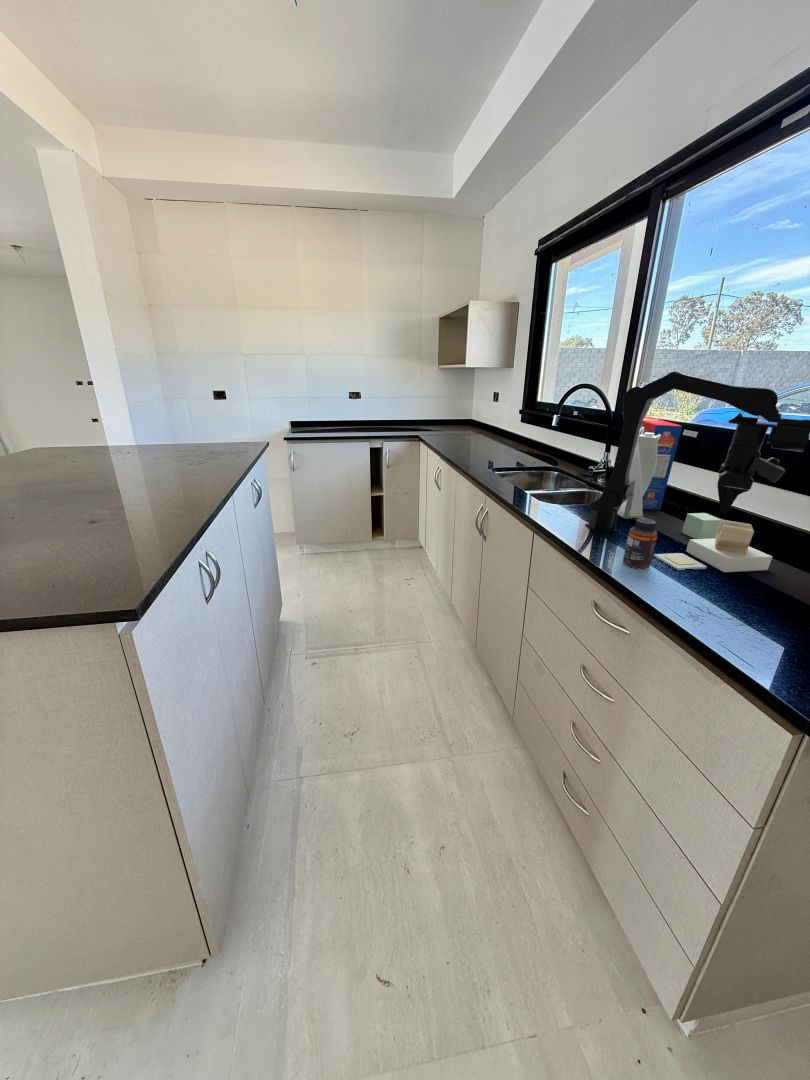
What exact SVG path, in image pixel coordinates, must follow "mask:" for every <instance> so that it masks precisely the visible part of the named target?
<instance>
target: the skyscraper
mask: <svg viewBox="0 0 810 1080" xmlns="http://www.w3.org/2000/svg"><path fill="white" fill-rule="evenodd" d="M642 428H643V429H642ZM642 428H641V429H640V431H639V435H638V441H637V444H636V447H635V451H634V455H633V459H632V463H631V468H630V472H629V481H634V482H635V483H634V485H633V488H632V495H631V496H630V497H629V498H628V499H627V500H626V501H625V502H624V503H622V504H621V505H620V506H619V509H618V511H617V515H618V516H619V517H622V518H623V519H624V520H626V519H627V520H629V519H631V520H633V519H632V518H646V517H644V515H643V510H644V509H643V507H642V497H643V495H644V493H645V492H646V490H647V488H648V486H649V484H650V481H651V479H652V476H653V473H654V470H655V466H656V461H657V449H658V440H659V439H660V437H661V434H659V435H657V436H654V433H644V435H643V431H644V426H643V427H642ZM641 430H642V432H641ZM640 432H641V435H640Z"/></svg>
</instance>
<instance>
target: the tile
mask: <svg viewBox="0 0 810 1080" xmlns="http://www.w3.org/2000/svg"><path fill="white" fill-rule="evenodd" d="M655 557H656V558H655ZM653 558H655V559H657V560H659V561H660V560H661V561H660V562H662V561H663V562H662V563H664V564H665V563H666V565H667V564H668V566H669V565H670V566H671V568H672V567H673V568H672V569H674V568H675V569H677V570H676V571H686V570H685V569H693V570H706V569H707V568H708V565H705V564H704V563H702V562H699V561H697V560H696V559H694V558H692V557H690V556H688V555H687V554H684V553H682V552H681V553H680V552H679V553H678V552H674V553H655V554H654V553H653ZM670 566H669V567H670ZM675 569H674V570H675Z"/></svg>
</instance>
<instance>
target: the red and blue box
mask: <svg viewBox="0 0 810 1080" xmlns="http://www.w3.org/2000/svg"><path fill="white" fill-rule="evenodd" d="M643 426H644V431H643V435H644V433H654V436H657V435H659V434H661V437H660V439H659V440H658V449H657V461H656V466H655V470H654V473H653V476H652V479H651V481H650V484H649V486H648V488H647V490H646V492H645V493H644V495H643V497H642V507H643V510H652V509H653V510H654V511H655V510H656V511H660V510H661V508H662V504H663V500H664V496H665V493H666V490H667V485H668V482H669V478H670V474H671V471H672V467H673V463H674V459H675V455H676V452H677V448H678V445H679V441H680V437H681V434H682V431H683V430H682V429H683V425H680V424H677V423H673V422H669V421H665V420H662V419H659V418H655V417H651V416H645V417H644V419H643V421H642V423H641V427H640V429H641V428H642V427H643ZM642 429H643V428H642ZM641 432H642V430H641ZM641 432H640V435H641ZM637 441H638V439H637ZM636 444H637V443H636ZM653 510H652V511H653Z"/></svg>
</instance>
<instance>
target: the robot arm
mask: <svg viewBox="0 0 810 1080" xmlns="http://www.w3.org/2000/svg"><path fill="white" fill-rule="evenodd" d="M672 390H677V391H680V392H684V393H688V394H693V395H696V396H699V397H705V398H708V399H711V400H717V401H720V402H724V403H726V404H727V405H730V406H732V407H733V408H736V409H738V410H740V411H743V412H744V413H747V414H749V415H752V416H744V415H743V414H742V412H739V413H738V414H737V415H735V416H734V417H732V418H731V419H728V423H729V424H735V425H737V426H736V427H735V431H734V433H733V437H732V440H731V443H730V446H729V448H728V451H727V455H726V458H725V461H724V462H723V463H722V464H721V466H720V469H719V471H718V473H719V474H718V480H717V485H716V486H717V493H718V501H719V509H720V511H719V512H720V513H721V514H727V512H728V511H729V509H730V508H731V507H732V505H733V504H734V502H735V500H736V499H737V498H738V496H739V495H741V494H743V493H747V492H748V491H750V490H751V489H752V486H753V484H754V478H753V477H752V476H754V475H755V474H756V475H759V476H761V477H763V478H765V479H767V480H768V481H769V482H771V483H774V484H775V483H776V482H777V481H778V480H779V479H780V478H781V477H782V476H783V475H784V474H785V473H786V469H785V468H784V467H783V466H780V462H781V461H780V460H779V459H778V458H776V457H774V456H773V457H770V458H768V459H766V458H763V457H761V455H762V453H761V448H762V445H763V443H764V441H765V440H764V439H765V437H766V435H767V431H768V430H769V428H771V430H770V432H769V435H768V438H767V440H766V444H769V445H771V447H770V448H771V449H773V450H774V449H776V450H781V451H782V450H783V451H792V452H800V453H803V452H804V451H805V449H806V447H807V444H808V442H809V440H810V419H807V418H806V419H796V418H795V419H794V418H784V417H782V412H779V409H778V407H777V404H778V402H779V397H778V393H777V392H776V391H775V390H773V389H771V388H767V387H755V386H739V385H730V384H728V383H722V382H718V381H714V380H710V379H706V378H701V377H698V376H693V375H689V374H685V373H683V372H682V371H681V372H680V371H671V372H669V373H667V374H666V375H664V376H662V377H660V378H658V379H656V380H654V381H651V382H650V383H647V384H645V385H643V386H642V385H641V386H634V387H631V388H630V389H628V390H627V391H626V392H625V393H624V395H623V397H622V419H623V425H622V429H621V433H620V438H619V442H618V446H617V452H616V455H615V460H614V464H613V469H612V472H611V475H610V477H609V479H608V480H607V483H606V484H605V487H604V489H603V491H602V493H601V496H600V497H598V498H597V499H595V500H594V501H592V502H591V503H590V506H591V511H590V515H589V517H590V518H589V520H588V523H587V522H586V523H585V526H586V527H587V528H589V529H590V530H592V531H593V532H596V533H617V531H618V530H617V529H616V526H617V525H616V524H617V519H618V516H619V515H618V514H617V511H619V509H617V508H618V507H621V505H622V503H624V502H625V501H626V500H627V499H628V498H629V497H630V496H631V495H632V488H633V485H634V483H635V482H634V481H629V472H630V468H631V463H632V459H633V455H634V451H635V447H636V443H637V439H638V435H639V431H640V427H641V423H642V421H643V419H644V417H647V416H646V415H647V414H648V411H649V410H650V408H651V406H652V403H653V400H656V399H657V398H659V397H661V396H664V395H665V394H667V393H670V392H671V391H672ZM753 416H755V417H753ZM756 416H757V417H756ZM759 416H760V417H761V418H763V419H764V420H766V421H767V422H768V423H767V422H759ZM773 423H774V424H773ZM775 423H776V424H775Z"/></svg>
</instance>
